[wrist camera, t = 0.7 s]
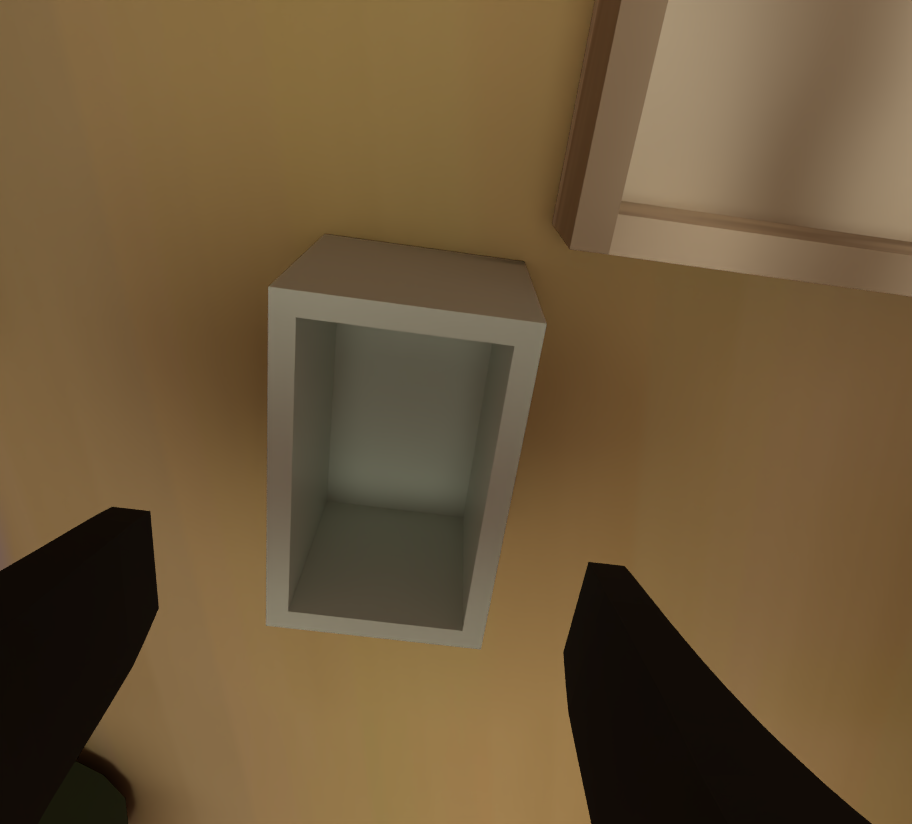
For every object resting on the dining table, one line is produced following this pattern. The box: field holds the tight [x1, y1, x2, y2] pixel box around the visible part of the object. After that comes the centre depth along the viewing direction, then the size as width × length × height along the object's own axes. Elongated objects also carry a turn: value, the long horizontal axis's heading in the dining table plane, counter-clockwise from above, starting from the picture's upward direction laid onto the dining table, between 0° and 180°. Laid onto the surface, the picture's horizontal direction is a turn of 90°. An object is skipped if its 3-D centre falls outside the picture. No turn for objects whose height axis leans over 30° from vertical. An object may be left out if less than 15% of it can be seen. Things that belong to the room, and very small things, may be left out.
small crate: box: [266, 234, 547, 649], centre depth 16 cm, size 5×8×5 cm, turn 172°
